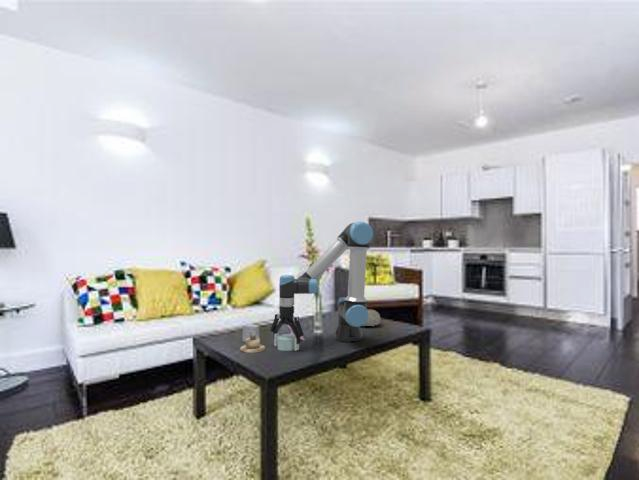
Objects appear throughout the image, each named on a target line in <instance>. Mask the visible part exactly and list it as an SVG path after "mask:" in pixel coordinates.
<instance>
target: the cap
mask: <svg viewBox="0 0 639 480" xmlns="http://www.w3.org/2000/svg"><path fill="white" fill-rule="evenodd" d="M295 337H296V336H295V335H292V334H290V333H287V334H286V333H283V334H279V336H278V346H276V347H277V350H278V351H282V352H291V351H295Z"/></svg>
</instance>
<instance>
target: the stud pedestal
mask: <svg viewBox="0 0 639 480" xmlns="http://www.w3.org/2000/svg"><path fill="white" fill-rule="evenodd" d="M260 342H261V339H260V337H259V338H256V331H250V338H247V339H246V342H245V344H244V345H242V346H240V351H241V352H242V353H248V354H254V353H255V354H256V353H260V352H263V351H265V349H266V346H265V345H263V344H261V343H260Z"/></svg>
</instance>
